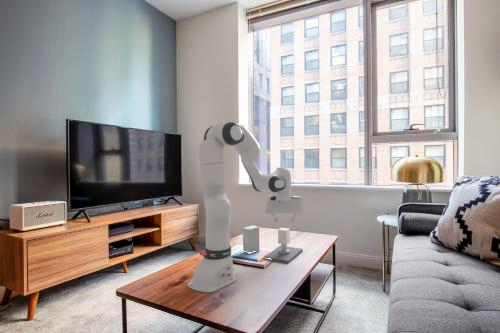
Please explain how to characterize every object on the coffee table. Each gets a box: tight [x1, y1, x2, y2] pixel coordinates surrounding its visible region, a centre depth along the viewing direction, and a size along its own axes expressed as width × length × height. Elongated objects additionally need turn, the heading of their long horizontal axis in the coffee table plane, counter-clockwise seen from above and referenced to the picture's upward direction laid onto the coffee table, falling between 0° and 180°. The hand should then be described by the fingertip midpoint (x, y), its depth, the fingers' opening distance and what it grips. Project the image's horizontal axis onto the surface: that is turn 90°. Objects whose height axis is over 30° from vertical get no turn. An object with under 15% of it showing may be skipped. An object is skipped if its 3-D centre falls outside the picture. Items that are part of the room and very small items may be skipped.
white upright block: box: [277, 227, 291, 245], centre depth 162 cm, size 5×5×8 cm
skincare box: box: [242, 225, 260, 252], centre depth 169 cm, size 8×6×15 cm
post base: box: [263, 244, 304, 264], centre depth 163 cm, size 22×14×10 cm, turn 150°
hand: (284, 221), depth 162 cm, fingers open, 8 cm apart
